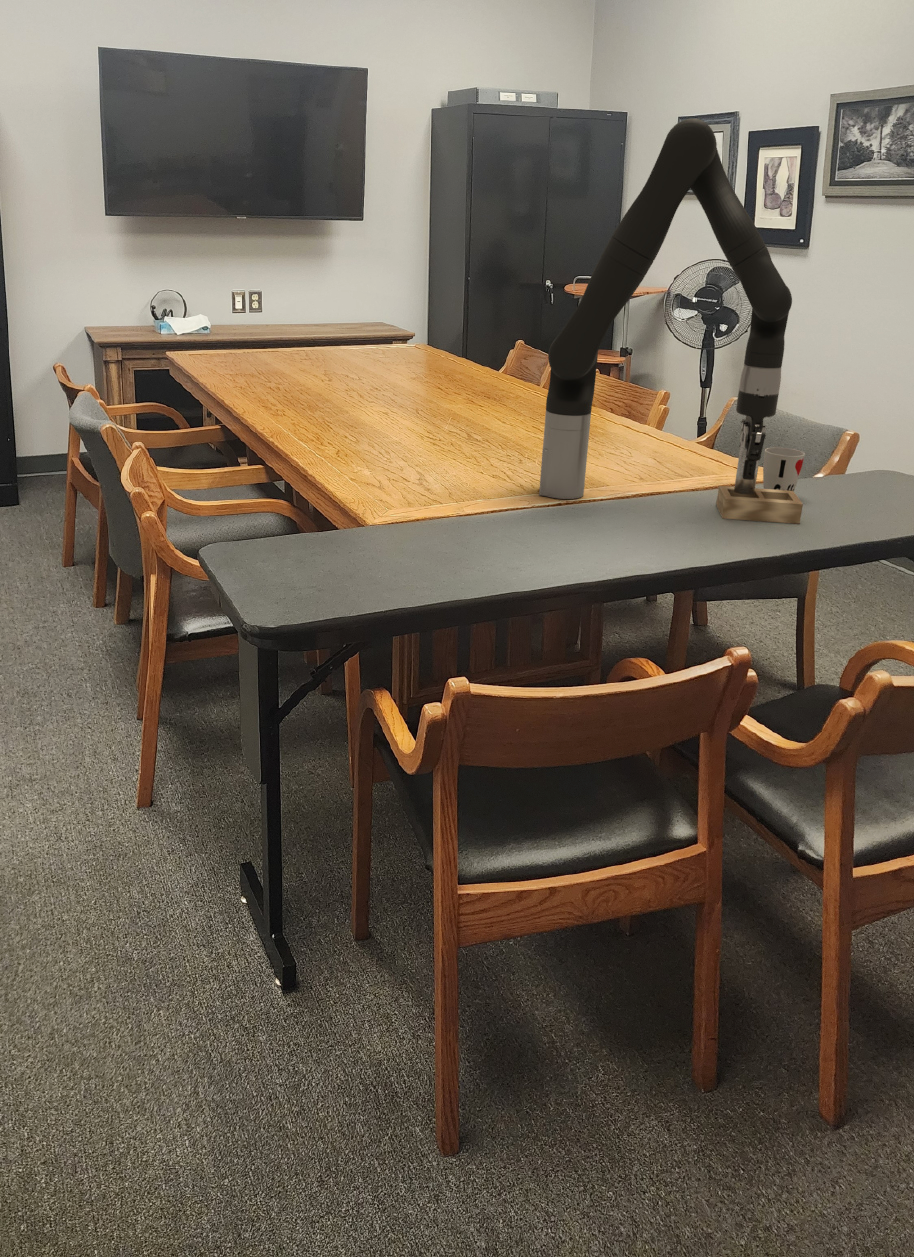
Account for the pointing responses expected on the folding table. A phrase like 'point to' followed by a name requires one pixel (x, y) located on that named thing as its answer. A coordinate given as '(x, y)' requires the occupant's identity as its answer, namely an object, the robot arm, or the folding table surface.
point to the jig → (760, 505)
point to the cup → (782, 468)
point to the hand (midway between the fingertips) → (746, 475)
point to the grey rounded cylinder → (742, 484)
